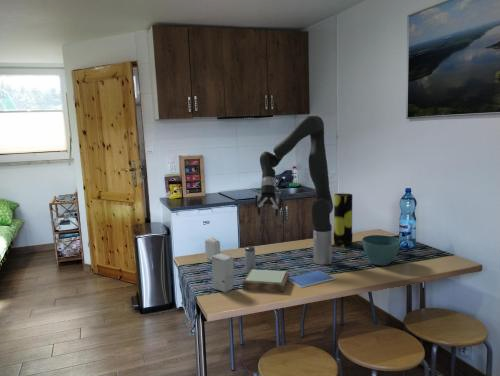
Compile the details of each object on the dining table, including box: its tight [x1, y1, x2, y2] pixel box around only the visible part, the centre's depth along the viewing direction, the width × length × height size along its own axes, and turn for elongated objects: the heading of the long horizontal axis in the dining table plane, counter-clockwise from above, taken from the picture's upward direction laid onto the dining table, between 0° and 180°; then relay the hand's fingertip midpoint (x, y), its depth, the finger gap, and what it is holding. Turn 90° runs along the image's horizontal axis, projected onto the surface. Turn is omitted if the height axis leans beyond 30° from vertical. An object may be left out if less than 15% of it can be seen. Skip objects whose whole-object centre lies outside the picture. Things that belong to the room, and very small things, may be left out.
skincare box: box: [211, 253, 234, 293], centre depth 180 cm, size 8×6×15 cm
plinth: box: [242, 268, 290, 293], centre depth 184 cm, size 18×16×4 cm
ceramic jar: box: [244, 246, 256, 274], centre depth 201 cm, size 5×5×12 cm
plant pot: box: [361, 234, 401, 266], centre depth 207 cm, size 18×18×12 cm
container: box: [333, 192, 353, 248], centre depth 239 cm, size 11×11×30 cm
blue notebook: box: [288, 270, 336, 289], centre depth 189 cm, size 19×13×1 cm, turn 118°
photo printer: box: [204, 236, 221, 262], centre depth 220 cm, size 10×4×12 cm, turn 39°
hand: (267, 216), depth 208 cm, fingers open, 8 cm apart
